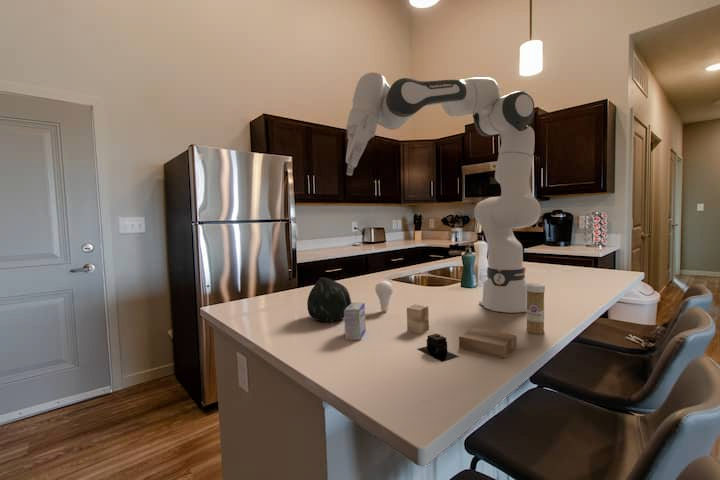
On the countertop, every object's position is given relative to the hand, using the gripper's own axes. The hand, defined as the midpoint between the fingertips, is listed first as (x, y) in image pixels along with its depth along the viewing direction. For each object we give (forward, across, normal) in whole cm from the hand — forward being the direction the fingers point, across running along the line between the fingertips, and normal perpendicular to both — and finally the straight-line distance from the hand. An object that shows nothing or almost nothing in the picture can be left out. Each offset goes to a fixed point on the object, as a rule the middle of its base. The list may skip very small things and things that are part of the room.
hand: (351, 170), depth 102 cm
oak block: (+41, 0, -30) cm, 51 cm away
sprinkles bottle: (+34, -10, -60) cm, 70 cm away
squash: (+46, +18, -6) cm, 50 cm away
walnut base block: (+40, -17, -42) cm, 61 cm away
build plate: (+44, -17, -30) cm, 56 cm away
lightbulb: (+40, +21, -24) cm, 51 cm away
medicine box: (+46, 0, -12) cm, 48 cm away
